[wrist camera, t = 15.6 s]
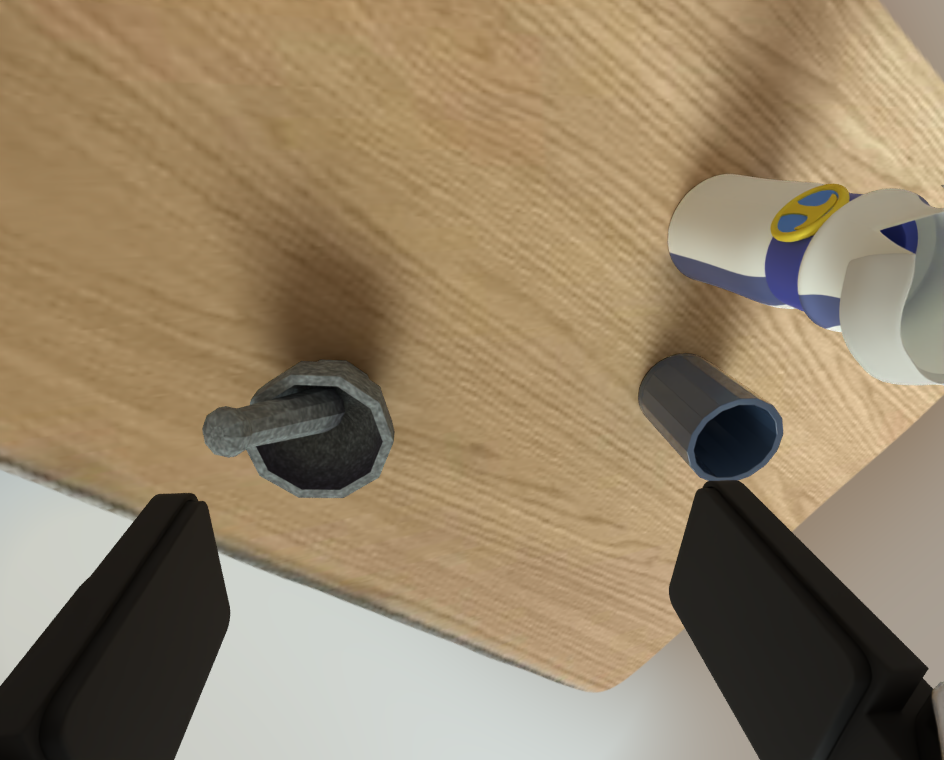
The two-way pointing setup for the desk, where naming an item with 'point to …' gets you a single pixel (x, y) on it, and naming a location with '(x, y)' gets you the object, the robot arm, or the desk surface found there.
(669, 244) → the water bottle
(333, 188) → the desk surface
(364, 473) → the mortar and pestle
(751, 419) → the blue cup
